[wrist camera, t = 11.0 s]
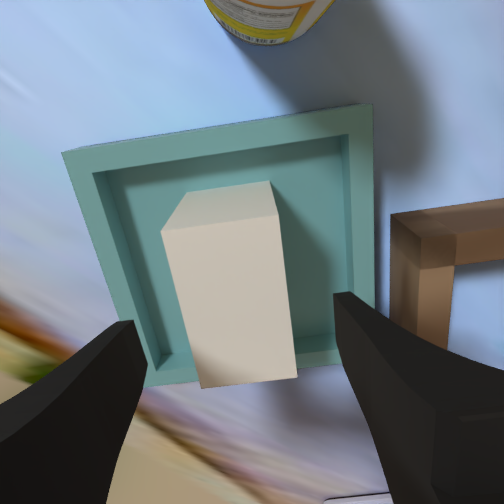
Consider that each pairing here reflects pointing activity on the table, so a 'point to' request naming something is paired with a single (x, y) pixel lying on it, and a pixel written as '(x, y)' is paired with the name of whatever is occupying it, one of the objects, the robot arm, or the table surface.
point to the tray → (223, 175)
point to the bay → (438, 261)
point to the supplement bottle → (267, 18)
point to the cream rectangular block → (232, 284)
